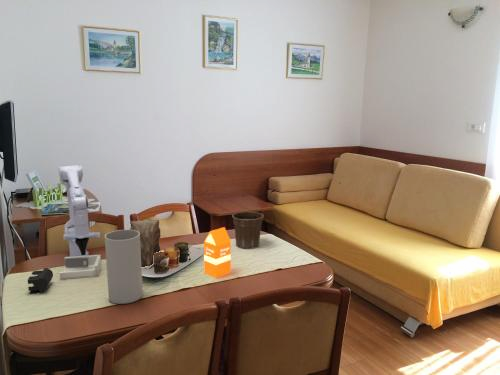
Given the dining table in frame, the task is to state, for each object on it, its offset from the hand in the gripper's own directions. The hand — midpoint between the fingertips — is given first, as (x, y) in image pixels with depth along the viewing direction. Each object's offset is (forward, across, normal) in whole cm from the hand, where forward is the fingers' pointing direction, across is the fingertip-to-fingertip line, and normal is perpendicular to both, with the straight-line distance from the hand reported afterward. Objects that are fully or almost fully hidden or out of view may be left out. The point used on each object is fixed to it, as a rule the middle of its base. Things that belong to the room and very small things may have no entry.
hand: (83, 254), depth 180 cm
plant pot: (+9, +78, +19) cm, 80 cm away
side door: (+7, -4, +4) cm, 9 cm away
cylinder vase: (+8, +18, -28) cm, 34 cm away
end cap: (+9, -14, -13) cm, 21 cm away
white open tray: (+8, -2, +1) cm, 9 cm away
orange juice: (+9, +56, -13) cm, 59 cm away
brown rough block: (+9, +26, +4) cm, 27 cm away
